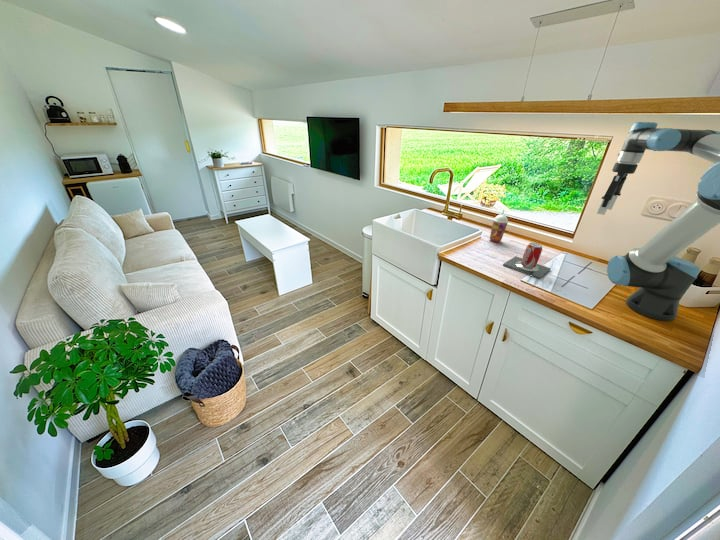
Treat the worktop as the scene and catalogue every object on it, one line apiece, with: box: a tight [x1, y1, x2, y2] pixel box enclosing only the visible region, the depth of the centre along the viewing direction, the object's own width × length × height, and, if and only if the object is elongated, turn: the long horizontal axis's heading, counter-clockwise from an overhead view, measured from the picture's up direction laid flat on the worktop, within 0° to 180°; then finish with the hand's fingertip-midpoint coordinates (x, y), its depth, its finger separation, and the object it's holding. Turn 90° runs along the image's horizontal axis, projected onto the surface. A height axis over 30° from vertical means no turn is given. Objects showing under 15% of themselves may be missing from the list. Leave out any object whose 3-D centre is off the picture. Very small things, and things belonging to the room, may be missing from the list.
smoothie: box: [489, 209, 509, 243], centre depth 173 cm, size 8×8×20 cm
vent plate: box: [502, 255, 552, 280], centre depth 146 cm, size 18×15×1 cm
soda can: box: [521, 242, 543, 268], centre depth 142 cm, size 7×7×12 cm
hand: (604, 211), depth 129 cm, fingers open, 13 cm apart
